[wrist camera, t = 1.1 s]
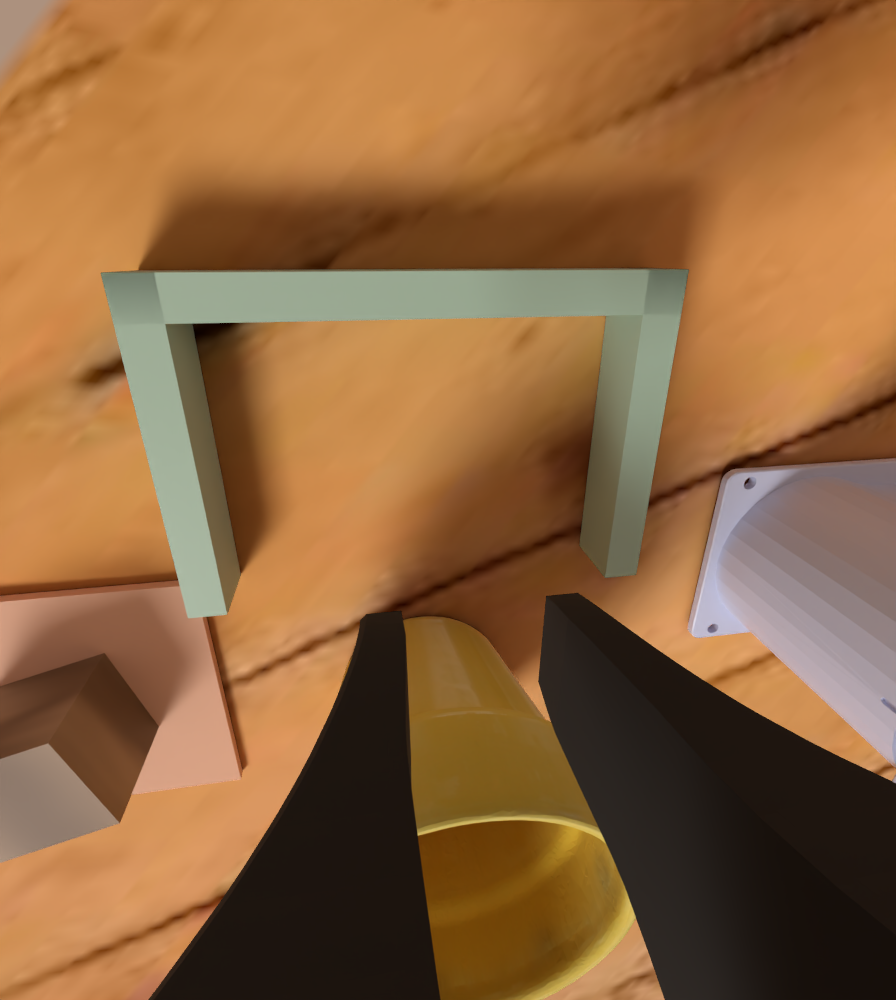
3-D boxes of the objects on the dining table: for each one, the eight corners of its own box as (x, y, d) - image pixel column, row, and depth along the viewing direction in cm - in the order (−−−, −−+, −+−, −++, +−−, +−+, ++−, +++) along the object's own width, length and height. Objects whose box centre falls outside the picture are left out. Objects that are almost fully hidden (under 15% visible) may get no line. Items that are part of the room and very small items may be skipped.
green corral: (646, 267, 17) (688, 269, 15) (607, 542, 21) (635, 574, 19) (136, 270, 15) (100, 273, 13) (206, 578, 19) (188, 618, 17)
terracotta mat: (197, 578, 19) (194, 584, 19) (242, 771, 23) (241, 779, 23) (-121, 606, 18) (-131, 613, 17) (-11, 806, 22) (-18, 815, 21)
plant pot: (413, 795, 26) (445, 1072, 17) (242, 690, 22) (168, 987, 13) (580, 668, 24) (712, 903, 15) (431, 527, 20) (496, 741, 11)
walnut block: (104, 653, 19) (47, 743, 16) (159, 726, 21) (119, 823, 17) (-4, 687, 19) (-86, 786, 16) (60, 758, 21) (0, 862, 17)
